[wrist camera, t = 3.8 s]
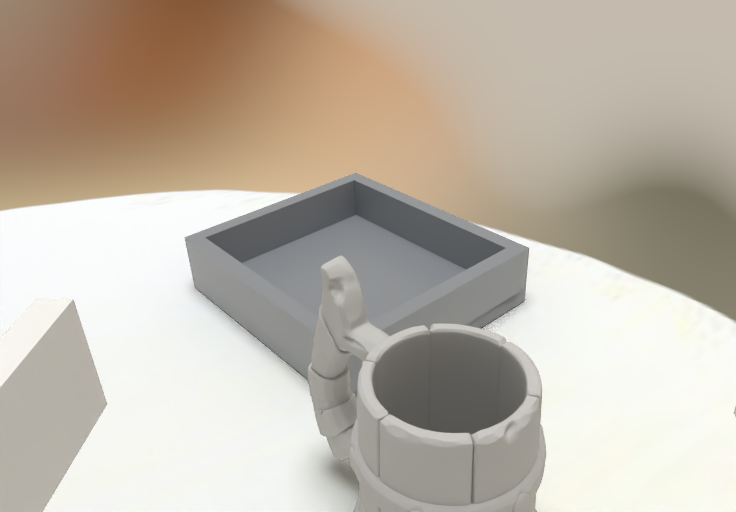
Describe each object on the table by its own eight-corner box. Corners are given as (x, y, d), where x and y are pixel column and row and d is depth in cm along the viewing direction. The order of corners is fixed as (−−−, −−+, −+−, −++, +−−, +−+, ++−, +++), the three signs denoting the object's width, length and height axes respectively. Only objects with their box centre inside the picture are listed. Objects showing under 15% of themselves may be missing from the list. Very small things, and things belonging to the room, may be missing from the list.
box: (194, 287, 47) (184, 237, 45) (358, 217, 55) (355, 172, 53) (346, 411, 36) (342, 352, 34) (524, 301, 44) (529, 248, 42)
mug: (453, 695, 24) (461, 450, 17) (261, 498, 31) (221, 280, 25) (576, 560, 28) (618, 325, 22) (381, 415, 36) (371, 213, 30)
